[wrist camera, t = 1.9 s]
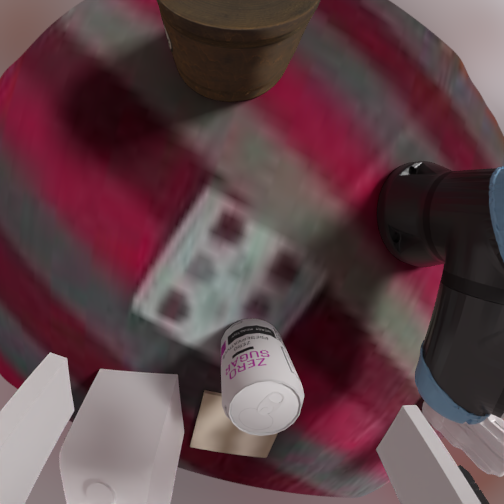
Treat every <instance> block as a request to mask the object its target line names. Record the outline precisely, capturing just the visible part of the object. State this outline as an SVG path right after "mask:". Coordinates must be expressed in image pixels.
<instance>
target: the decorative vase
mask: <svg viewBox="0 0 504 504" xmlns="http://www.w3.org/2000/svg"><path fill="white" fill-rule="evenodd" d="M422 413H423V415H424V417H425V418H426V419H427V420H428V421H429V423H430V424H431V425H432V426H433V427H434V428H435V429H436V430H438V431H440V432H441V434H442V435H443V436H444V437H445V438H446V439H447V440H448V441H449V442H450V443H451V444H452V445H453V446H454V447H457V448H459V449H462V450H463V451H464V452H465V454H466V455H467V456H468V457H469V458H470V459H471V460H472V461H473V462H474V463H475V464H476V465H477V467H479V469H481V470H483V471H484V472H485V473H487V474H495V475H497V476H499V477H501V476H503V475H504V421H503V420H502V419H501V418H499V417H497V416H494V415H492V414H491V415H490V416H489V417H488V418H486V419H485V420H484V421H483V422H481V423H478V424H473V425H469V424H468V423H467V422H465V423H463V424H461V423H457V422H454V421H451V420H449V419H447V418H445V417H443V416H441V415H440V414H438V413H437V412H436V411H434V410H433V409H432V408H431V407H430V406H429V405H428V404H427V403H426V402H425V401H424V402H423V406H422Z"/></svg>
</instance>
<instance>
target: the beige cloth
mask: <svg viewBox="0 0 504 504" xmlns="http://www.w3.org/2000/svg"><path fill="white" fill-rule="evenodd" d="M277 434H278V433H276V434H273V435H265V436H258V435H250V434H247V433H245V432H243V431H241V430H239V429H238V428H237V427H236V426H235V425H234V424H233V423H232V421H231V420H230V419H229V418H228V417H227V416H226V415H225V412H224V409H223V407H222V393H217V392H212V391H207V390H204V393H203V397H202V401H201V405H200V409H199V412H198V416H197V420H196V424H195V428H194V431H193V435H192V439H191V443H190V447H193V448H198V449H204V450H209V451H215V452H222V453H229V454H236V455H244V456H253V457H263V458H266V457H267V455H268V453H269V451H270V449H271V447H272V445H273V443H274V440H275V438H276V436H277Z"/></svg>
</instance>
